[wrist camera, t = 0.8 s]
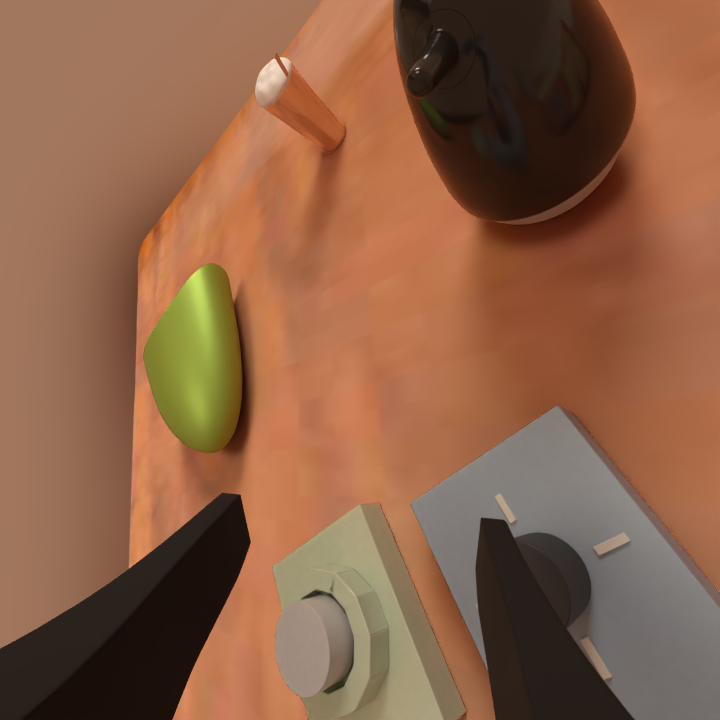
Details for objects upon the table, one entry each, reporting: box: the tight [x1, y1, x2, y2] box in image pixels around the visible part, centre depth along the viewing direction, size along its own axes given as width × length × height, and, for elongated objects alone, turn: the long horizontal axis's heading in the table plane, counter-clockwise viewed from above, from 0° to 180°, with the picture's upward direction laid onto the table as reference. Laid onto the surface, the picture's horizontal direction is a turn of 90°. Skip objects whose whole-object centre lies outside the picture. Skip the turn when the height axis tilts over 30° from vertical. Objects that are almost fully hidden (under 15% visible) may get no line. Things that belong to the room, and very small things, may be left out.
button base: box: [272, 503, 466, 720], centre depth 25 cm, size 12×10×4 cm
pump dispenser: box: [393, 0, 636, 225], centre depth 20 cm, size 10×10×15 cm
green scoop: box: [143, 263, 242, 453], centre depth 43 cm, size 8×12×20 cm
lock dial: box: [514, 532, 591, 628], centre depth 17 cm, size 4×4×4 cm
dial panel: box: [410, 405, 720, 720], centre depth 19 cm, size 12×10×3 cm
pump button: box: [275, 595, 354, 698], centre depth 23 cm, size 5×5×2 cm
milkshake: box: [256, 53, 345, 153], centre depth 38 cm, size 4×5×10 cm
